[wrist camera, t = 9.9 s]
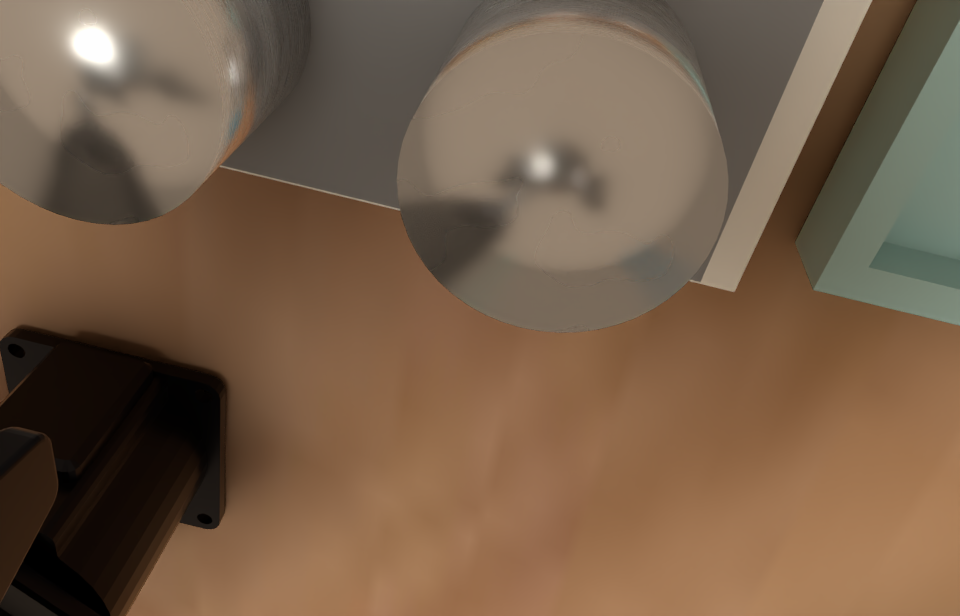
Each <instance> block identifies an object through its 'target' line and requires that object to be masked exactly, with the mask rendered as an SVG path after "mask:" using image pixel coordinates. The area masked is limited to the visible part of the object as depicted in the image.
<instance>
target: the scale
mask: <svg viewBox="0 0 960 616" xmlns="http://www.w3.org/2000/svg"><path fill="white" fill-rule="evenodd" d="M484 1H485V0H309V5H310V14H311V39H310V46H309V53H308V56H307V60H306V63H305V67H304V69H303V71H302V73H301V76H300V78H299V80H298V82H297V83H296V85H295V86H294V88H293V89H292V91H291V92H290V93H289V95H288V96H287V97H286V98H285V99H284V100H283V101H282V102H281V103H280V104H279V105H278V107H277V108H276V109H275V110H274V111H273V112H272V113H271V114H270V115H269V116H268V117H267V118H266V119H265V120H264V121H263V122H262V123H261V124H260V125H259V126H258V127H257V128H256V129H255V130H254V131H253V132H252V133H251V134H250V135H249V136H248V138H247V139H246V140H245V141H244V142H243V143H242V144H241V145H240V146H239V147H238V148H237V149H236V150H235V151H234V152H233V153H232V154H231V155H230V156H229V157H228V158H227V159H226V160H225V161H224V162H223V163H222V164H221V165H220V166H219V167H222V168H226V169H231V170H235V171H239V172H243V173H247V174H251V175H255V176H259V177H263V178H268V179H272V180H276V181H280V182H284V183H288V184H292V185H296V186H300V187H304V188H309V189H313V190H317V191H321V192H325V193H329V194H333V195H337V196H341V197H346V198H350V199H354V200H358V201H362V202H366V203H370V204H374V205H378V206H382V207H387V208H391V209H395V210H399V211H400V207H399V202H398V191H397V171H398V160H399V155H400V151H401V147H402V142H403V139H404V137H405V134H406V131H407V129H408V126H409V124H410V122H411V120H412V118H413V116H414V114H415V113H416V111H417V109H418V107H419V105H420V104H421V102H422V100H423V98H424V96H425V95H426V93H427V91H428V89H429V88H430V86H431V84H432V82H433V80H434V79H435V77H436V75H437V73H438V71H439V70H440V68H441V66H442V64H443V62H444V61H445V59H446V57H447V55H448V54H449V52H450V50H451V48H452V46H453V45H454V43H455V41H456V39H457V37H458V36H459V34H460V32H461V30H462V28H463V27H464V25H465V23H466V22H467V20H468V19H469V18H470V16H471V15H472V14H473V12H474V11H475V10H476V9H477V8H478V7H479V6H480V5H481V4H482V3H483V2H484ZM664 1H666V2H667V3H668V5H669V6H670V7H671V8H672V9H673V11H674V12H675V13H676V14H677V16H678V17H679V18H680V20H681V22H682V23H683V25H684V27H685V28H686V30H687V32H688V34H689V37H690V39H691V41H692V44H693V46H694V49H695V52H696V56H697V59H698V63H699V66H700V69H701V73H702V76H703V79H704V83H705V86H706V90H707V93H708V96H709V100H710V103H711V106H712V110H713V113H714V117H715V120H716V123H717V127H718V130H719V133H720V137H721V140H722V144H723V148H724V152H725V156H726V160H727V170H728V180H729V181H728V201H727V206H726V211H725V216H724V220H723V223H722V226H721V229H720V232H719V235H718V237H717V240H716V242H715V244H714V245H713V247H712V249H711V251H710V253H709V255H708V257H707V258H706V260H705V261H704V262H703V264H702V265H701V267H700V268H699V269H698V271H697V272H696V273H695V274H694V276H693V277H692V278H691V279H690V280H689V281H690V282H695V283H699V284H703V285H707V286H711V287H715V288H719V289H723V290H727V291H732V292H735V290H736V288H737V285H738V283H739V281H740V279H741V277H742V275H743V273H744V271H745V269H746V266H747V264H748V262H749V260H750V258H751V256H752V254H753V252H754V249H755V247H756V245H757V243H758V241H759V239H760V237H761V235H762V233H763V230H764V228H765V226H766V224H767V222H768V220H769V218H770V216H771V214H772V211H773V209H774V207H775V205H776V203H777V201H778V199H779V197H780V194H781V192H782V190H783V188H784V186H785V184H786V182H787V180H788V178H789V175H790V173H791V171H792V169H793V167H794V165H795V163H796V161H797V158H798V156H799V154H800V152H801V150H802V148H803V146H804V144H805V142H806V139H807V137H808V135H809V133H810V131H811V129H812V127H813V125H814V123H815V120H816V118H817V116H818V114H819V112H820V110H821V108H822V106H823V103H824V101H825V99H826V97H827V95H828V93H829V91H830V89H831V87H832V84H833V82H834V80H835V78H836V76H837V74H838V72H839V70H840V68H841V65H842V63H843V61H844V59H845V57H846V55H847V53H848V51H849V48H850V46H851V44H852V42H853V40H854V38H855V36H856V34H857V32H858V29H859V27H860V25H861V23H862V21H863V19H864V17H865V15H866V13H867V10H868V8H869V6H870V4H871V2H872V0H664Z"/></svg>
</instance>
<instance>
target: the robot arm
mask: <svg viewBox="0 0 960 616" xmlns="http://www.w3.org/2000/svg"><path fill="white" fill-rule="evenodd" d="M0 351H1V356H2V361H3V366H4V371H5V376H6V381H7V386H8V390H9V395H8V396H7V397H6V398H5V399H4V400H3V401H2V402H1V403H0V616H126V615H127V614H128V612H129V610H130V608H131V606H132V605H133V603H134V601H135V599H136V598H137V596H138V594H139V592H140V591H141V589H142V587H143V585H144V584H145V582H146V580H147V578H148V577H149V575H150V573H151V571H152V570H153V568H154V566H155V564H156V562H157V561H158V559H159V557H160V555H161V554H162V552H163V550H164V548H165V547H166V545H167V543H168V541H169V540H170V538H171V536H172V534H173V533H174V531H175V529H176V527H177V525H178V524H179V522H180V523H184V524H188V525H192V526H196V527H200V528H204V529H214V528H216V527H218V526H219V524H220V522H221V520H222V518H223V516H224V507H225V430H226V389H225V386H224V384H223V383H222V382H221V381H220V380H219V379H218V378H216V377H215V376H212V375H209V374H205V373H201V372H197V371H193V370H189V369H185V368H181V367H177V366H173V365H168V364H164V363H160V362H156V361H152V360H148V359H144V358H140V357H135V356H131V355H127V354H123V353H119V352H115V351H111V350H107V349H102V348H98V347H94V346H90V345H86V344H82V343H78V342H74V341H69V340H65V339H61V338H57V337H53V336H49V335H45V334H41V333H37V332H32V331H28V330H24V329H14V330H11V331H10V332H9V333H8V334H7V335H6V336H5V337H4V338H3V339H2V340H1V341H0ZM204 390H206V391H208V392H209V393H210V394H209V393H206V392H205V391H204Z"/></svg>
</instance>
